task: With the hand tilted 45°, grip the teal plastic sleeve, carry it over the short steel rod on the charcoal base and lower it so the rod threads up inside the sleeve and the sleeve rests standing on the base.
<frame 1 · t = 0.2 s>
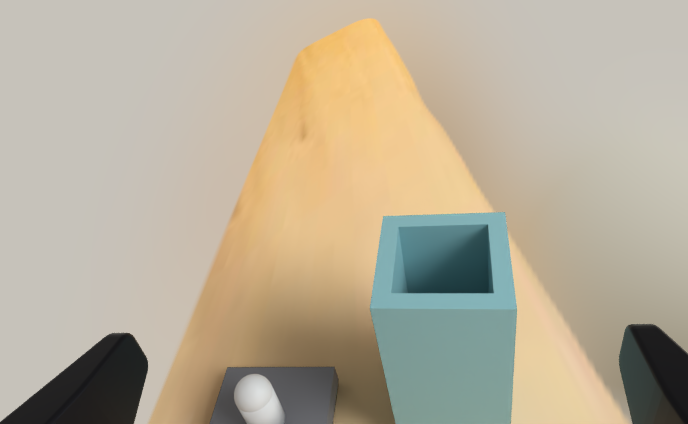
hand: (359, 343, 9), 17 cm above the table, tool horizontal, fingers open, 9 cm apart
teal sleeve: (452, 397, 26), on the table
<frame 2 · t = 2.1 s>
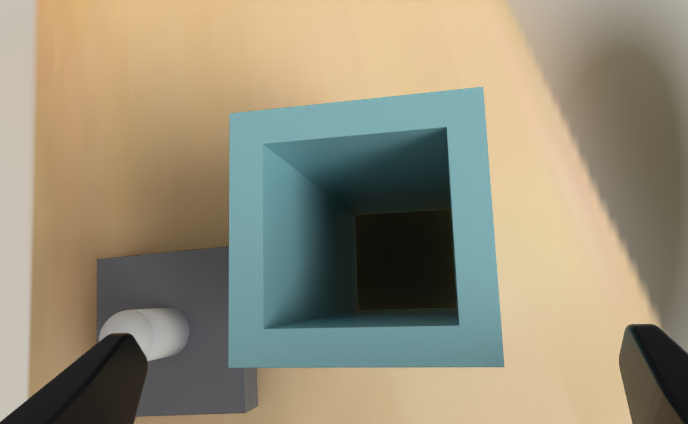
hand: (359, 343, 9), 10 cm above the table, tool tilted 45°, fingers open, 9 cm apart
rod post: (183, 329, 21), on the table
teal sleeve: (404, 260, 19), on the table
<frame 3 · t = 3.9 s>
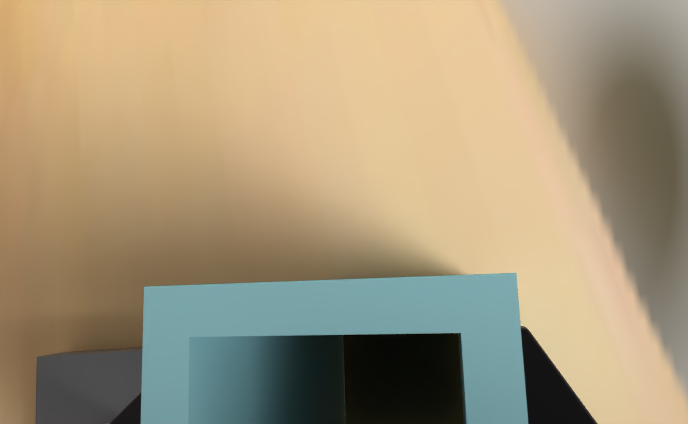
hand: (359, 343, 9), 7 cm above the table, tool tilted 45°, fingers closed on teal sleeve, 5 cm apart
teal sleeve: (400, 365, 16), on the table, touching gripper
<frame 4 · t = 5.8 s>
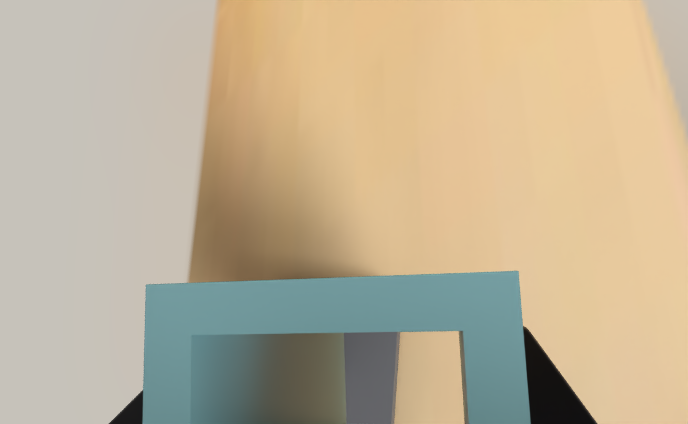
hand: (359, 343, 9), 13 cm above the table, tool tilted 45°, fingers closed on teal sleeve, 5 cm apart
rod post: (329, 358, 23), on the table
teal sleeve: (401, 364, 16), point 6 cm above the table, touching gripper
when the fingers open (9 cm above the table, at t = 8.0 s): teal sleeve stays where it is, resting on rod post.
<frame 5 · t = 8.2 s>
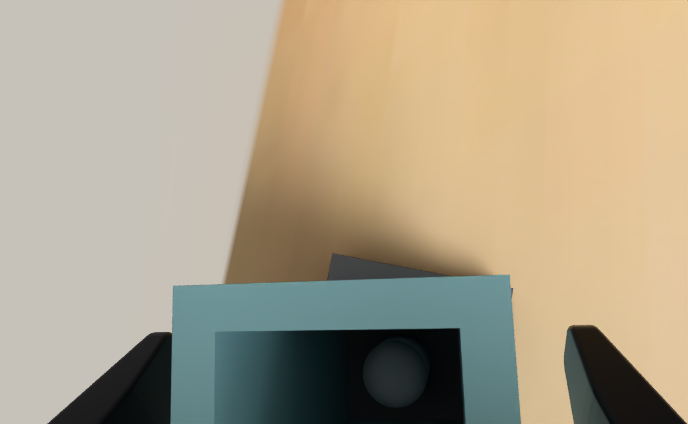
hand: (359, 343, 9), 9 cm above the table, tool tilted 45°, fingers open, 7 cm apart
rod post: (406, 356, 18), on the table
teal sleeve: (402, 361, 17), point 1 cm above the table, touching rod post
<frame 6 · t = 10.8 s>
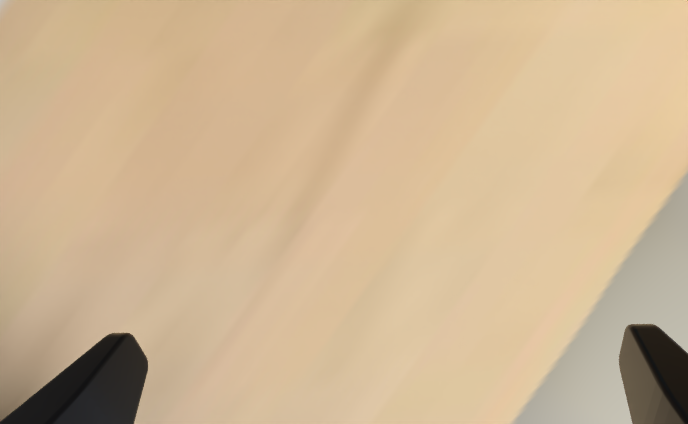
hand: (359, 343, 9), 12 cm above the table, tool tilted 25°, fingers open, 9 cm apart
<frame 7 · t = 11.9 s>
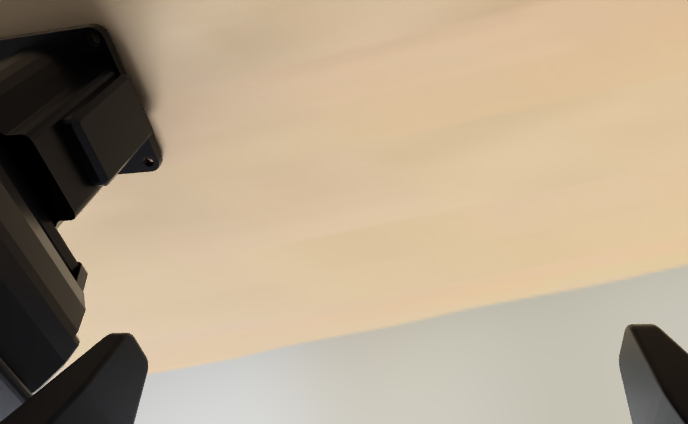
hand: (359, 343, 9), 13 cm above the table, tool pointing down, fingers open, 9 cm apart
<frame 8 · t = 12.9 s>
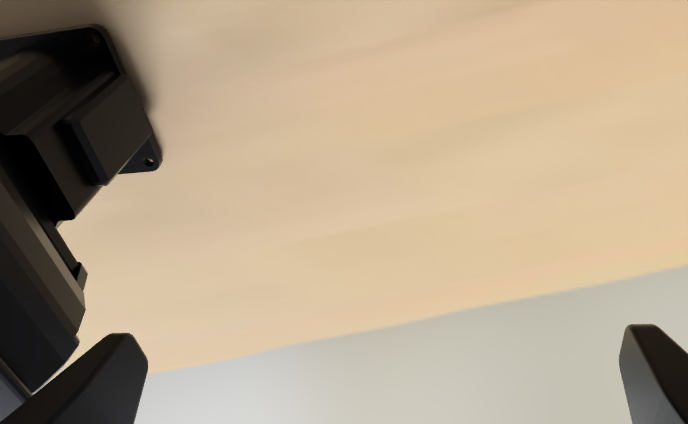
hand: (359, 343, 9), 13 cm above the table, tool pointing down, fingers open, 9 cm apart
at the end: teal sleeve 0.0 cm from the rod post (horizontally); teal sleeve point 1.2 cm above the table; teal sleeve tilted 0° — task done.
